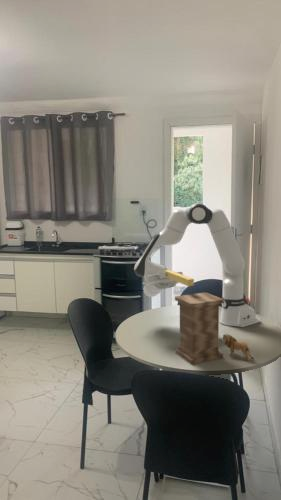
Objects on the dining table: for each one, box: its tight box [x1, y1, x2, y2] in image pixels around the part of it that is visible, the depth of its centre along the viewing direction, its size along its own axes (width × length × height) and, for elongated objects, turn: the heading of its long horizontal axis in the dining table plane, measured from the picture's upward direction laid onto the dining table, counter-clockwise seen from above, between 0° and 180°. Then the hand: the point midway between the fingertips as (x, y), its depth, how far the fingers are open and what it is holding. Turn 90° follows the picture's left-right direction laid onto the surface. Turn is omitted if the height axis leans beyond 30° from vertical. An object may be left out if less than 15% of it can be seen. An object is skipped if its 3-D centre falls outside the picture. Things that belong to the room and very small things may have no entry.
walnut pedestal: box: [174, 291, 224, 365], centre depth 172 cm, size 16×14×26 cm
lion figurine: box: [221, 333, 255, 362], centre depth 171 cm, size 15×5×9 cm, turn 53°
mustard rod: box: [164, 269, 195, 287], centre depth 186 cm, size 3×24×3 cm, turn 23°
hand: (170, 273), depth 194 cm, fingers closed on mustard rod, 3 cm apart
